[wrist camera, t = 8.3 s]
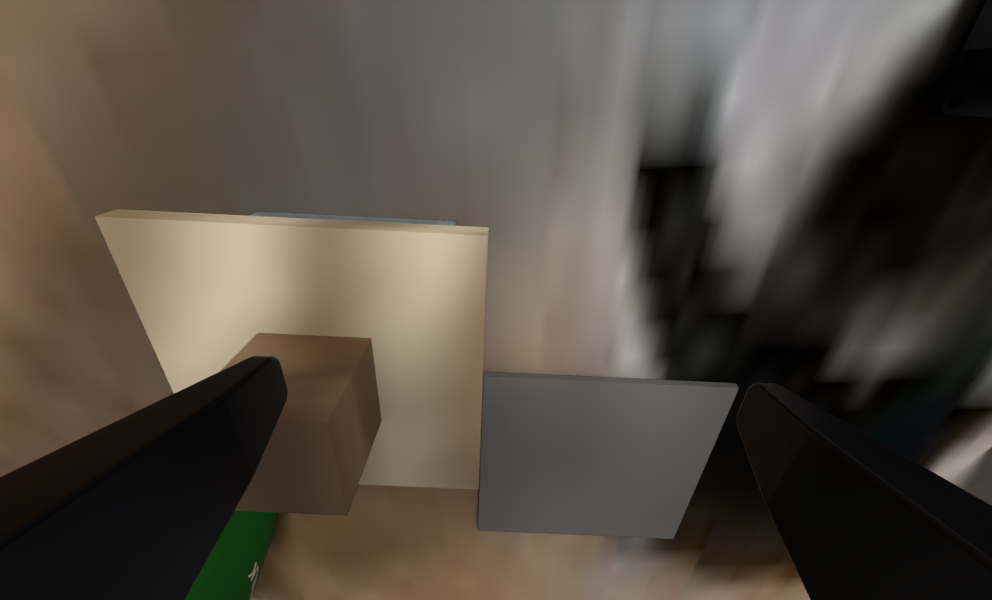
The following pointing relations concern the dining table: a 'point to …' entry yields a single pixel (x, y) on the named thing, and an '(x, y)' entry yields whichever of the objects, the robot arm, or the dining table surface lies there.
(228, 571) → the milk carton
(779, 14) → the dining table surface
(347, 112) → the dining table surface
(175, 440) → the robot arm
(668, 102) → the dining table surface
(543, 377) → the mat
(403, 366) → the lid
